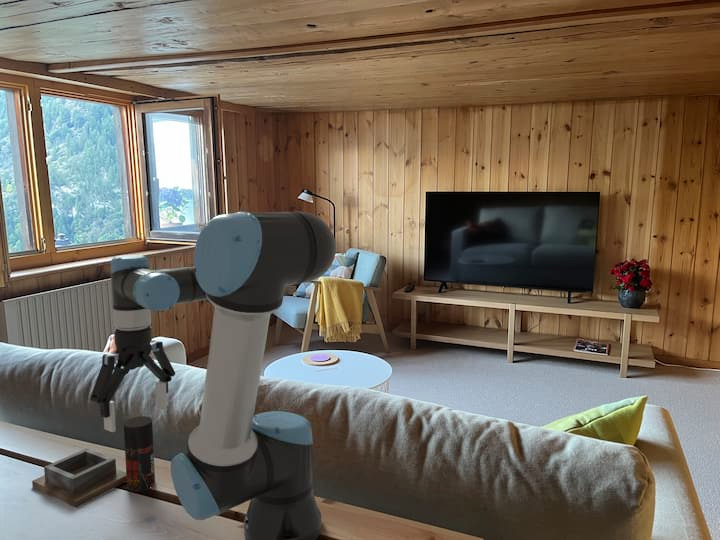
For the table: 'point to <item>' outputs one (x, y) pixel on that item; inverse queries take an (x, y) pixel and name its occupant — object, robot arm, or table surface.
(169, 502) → the table surface
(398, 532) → the table surface
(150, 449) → the deodorant
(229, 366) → the robot arm
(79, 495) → the socket stand
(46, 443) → the table surface
